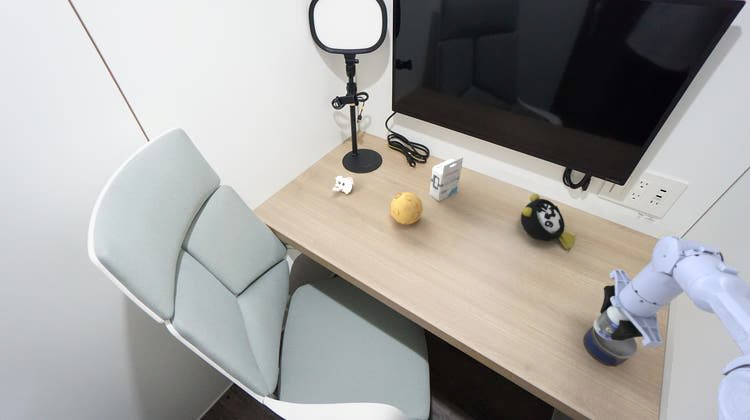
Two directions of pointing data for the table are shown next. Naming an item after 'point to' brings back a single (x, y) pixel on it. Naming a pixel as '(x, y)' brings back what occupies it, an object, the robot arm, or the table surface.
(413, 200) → the stress ball
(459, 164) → the ink box
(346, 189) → the anatomical pelvis
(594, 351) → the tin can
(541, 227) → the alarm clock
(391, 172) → the table surface
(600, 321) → the pill bottle
